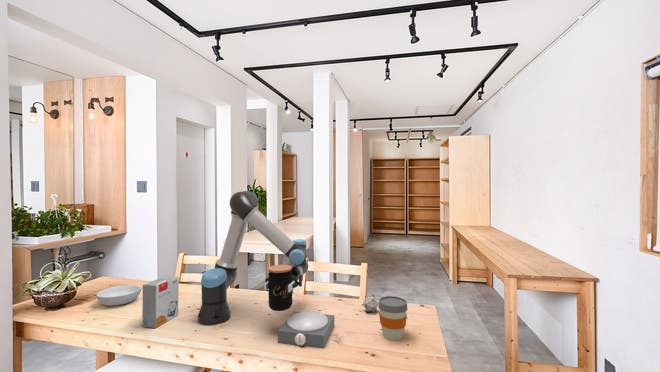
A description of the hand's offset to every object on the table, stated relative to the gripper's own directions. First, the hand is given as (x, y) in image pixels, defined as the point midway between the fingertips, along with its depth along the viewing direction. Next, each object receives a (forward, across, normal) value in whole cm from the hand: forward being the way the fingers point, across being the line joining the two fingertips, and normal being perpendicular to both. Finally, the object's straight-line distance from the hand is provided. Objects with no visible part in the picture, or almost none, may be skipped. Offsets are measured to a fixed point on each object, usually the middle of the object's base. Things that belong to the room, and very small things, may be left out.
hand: (276, 287), depth 137 cm
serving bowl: (-16, +102, -20) cm, 105 cm away
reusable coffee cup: (-10, -50, -21) cm, 55 cm away
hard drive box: (-1, +61, -21) cm, 64 cm away
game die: (-33, -38, -21) cm, 55 cm away
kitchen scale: (-3, -13, -21) cm, 25 cm away
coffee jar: (-4, 0, -10) cm, 11 cm away
